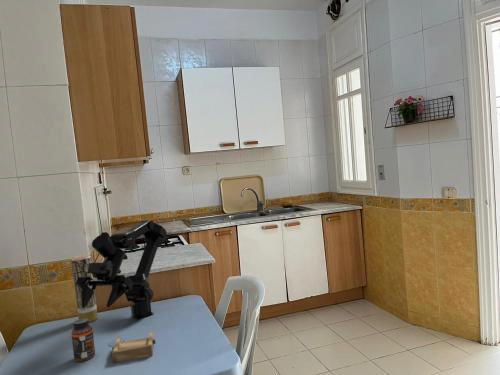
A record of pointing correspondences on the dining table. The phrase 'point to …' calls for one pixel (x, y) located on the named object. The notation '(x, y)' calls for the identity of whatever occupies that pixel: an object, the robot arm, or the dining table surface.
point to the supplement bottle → (82, 340)
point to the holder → (133, 349)
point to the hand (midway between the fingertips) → (95, 307)
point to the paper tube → (79, 270)
